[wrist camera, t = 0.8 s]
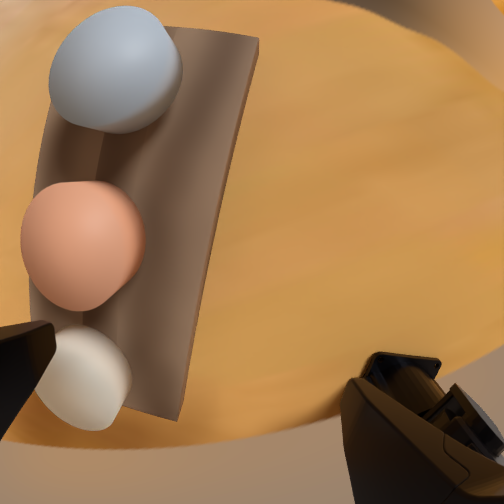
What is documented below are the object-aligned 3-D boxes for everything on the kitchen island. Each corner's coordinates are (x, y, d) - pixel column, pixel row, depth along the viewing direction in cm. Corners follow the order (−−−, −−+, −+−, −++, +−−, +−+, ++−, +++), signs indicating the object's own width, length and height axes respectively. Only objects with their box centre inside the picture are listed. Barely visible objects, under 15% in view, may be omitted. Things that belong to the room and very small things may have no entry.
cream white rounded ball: (148, 321, 20) (115, 369, 14) (142, 390, 21) (116, 443, 15) (71, 297, 19) (23, 332, 14) (72, 365, 21) (36, 408, 15)
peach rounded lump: (169, 189, 18) (132, 194, 12) (153, 286, 19) (117, 326, 13) (83, 172, 18) (26, 174, 12) (72, 263, 19) (20, 291, 13)
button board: (258, 53, 17) (259, 37, 14) (183, 401, 22) (176, 421, 20) (91, 40, 16) (75, 27, 14) (51, 356, 22) (36, 370, 20)
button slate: (204, 52, 16) (184, 6, 10) (179, 146, 17) (145, 133, 12) (116, 46, 16) (72, 10, 10) (90, 133, 17) (35, 122, 11)
